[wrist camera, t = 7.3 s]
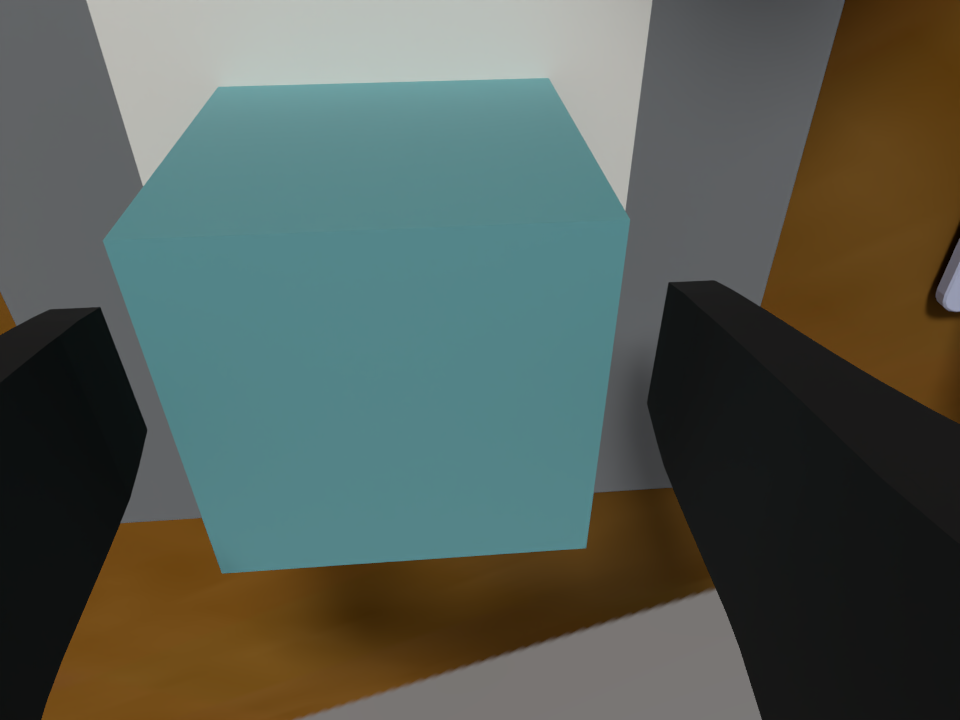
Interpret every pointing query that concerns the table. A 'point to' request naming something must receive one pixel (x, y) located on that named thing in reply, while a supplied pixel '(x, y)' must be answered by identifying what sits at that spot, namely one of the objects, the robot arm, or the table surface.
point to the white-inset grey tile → (410, 58)
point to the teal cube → (379, 318)
